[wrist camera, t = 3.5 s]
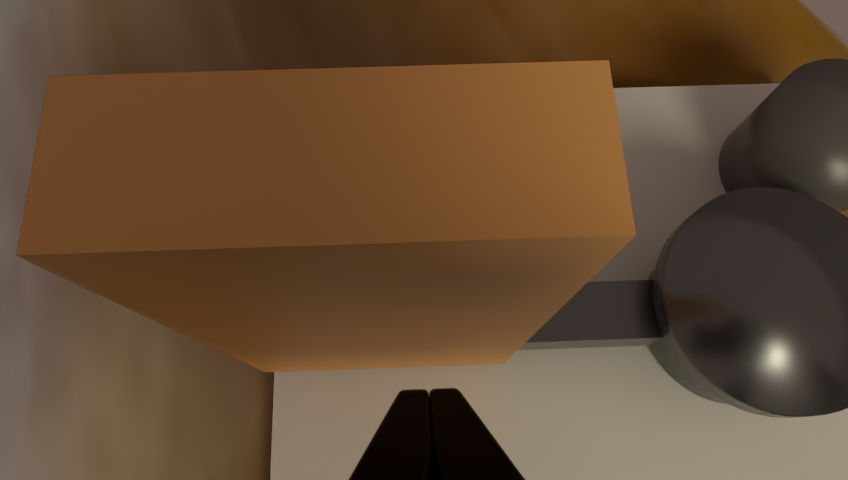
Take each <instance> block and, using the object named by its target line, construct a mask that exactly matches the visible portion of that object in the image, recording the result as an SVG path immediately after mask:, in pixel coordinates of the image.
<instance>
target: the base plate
mask: <svg viewBox="0 0 848 480" xmlns="http://www.w3.org/2000/svg"><path fill="white" fill-rule="evenodd" d="M613 90H614V96H615V103H616V109H617V115H618V122H619V128H620V135H621V141H622V148H623V154H624V161H625V167H626V173H627V180H628V186H629V193H630V199H631V206H632V212H633V219H634V225H635V231H636V235H635V236H634V237H633V238H632V239H631V240H630V241H629V242H628V243H627V244H626V245H625V246H624V247H623V248H622V249H621V250H620V251H619V252H618V253H617V254H616V255H615V256H614V257H613V258H612V259H611V260H610V261H609V262H608V263H607V264H606V265H605V266H604V267H603V268H602V269H600V270H599V271H598V272H597V273H596V274H595V275H594V276H593V277H592V278H591V279H590V280H589V281H588V282H598V281H628V280H648V278H649V276H650V274H651V272H652V271H653V269H654V268H655V267H656V263H657V260H658V258H659V255H660V252H661V250H662V248H663V246H664V244H665V242H666V241H667V239H668V238H669V237H670V235H671V234H672V233H673V231H674V230H675V229H676V228H677V227H678V226H679V225H680V224H681V223H682V222H683V221H685V220H686V219H687V218H688V217H689V216H690V215H692V214H693V213H694V212H695V211H696V210H698V209H699V208H700V207H702V206H703V205H704V204H706V203H707V202H709V201H711V200H713V199H714V198H716V197H718V196H721V195H723V194H726V193H729V192H732V191H736V190H740V189H745V188H756V187H768V188H779V189H786V190H790V191H794V192H798V193H802V194H804V195H807V196H810V197H812V198H815V199H817V200H819V201H821V202H823V203H825V204H827V205H829V206H831V207H832V208H834V209H835V210H837V211H839V212H840V213H842V214H843V212H844V211H845V210H847V209H848V60H843V59H823V60H817V61H813V62H810V63H807V64H805V65H803V66H801V67H799V68H797V69H796V70H794V71H793V72H792V73H791V74H790V75H789V76H787V77H786V78H785V79H784V80H783V81H782V82H781V83H772V84H737V85H703V86H668V87H633V88H613ZM438 388H456V389H458V390H459V391H460V392H461V393H462V394H463V396H464V397H465V398H466V400H467V401H468V403H469V404H470V405H471V407H472V408H473V409H474V411H475V412H476V413H477V415H478V416H479V418H480V419H481V420H482V422H483V423H484V424H485V426H486V427H487V428H488V430H489V431H490V432H491V434H492V435H493V437H494V438H495V439H496V441H497V442H498V443H499V445H500V446H501V447H502V449H503V450H504V452H505V453H506V454H507V456H508V457H509V458H510V460H511V461H512V462H513V464H514V465H515V466H516V468H517V469H518V471H519V472H520V473H521V475H522V476H523V477H524V479H525V480H848V408H847V409H844V410H842V411H838V412H835V413H831V414H827V415H818V416H808V417H794V418H776V417H768V416H762V415H757V414H753V413H750V412H747V411H743V410H741V409H738V408H736V407H734V406H732V405H729V404H723V403H717V402H714V401H710V400H707V399H705V398H702V397H700V396H698V395H695V394H694V393H692V392H690V391H689V390H687V389H685V388H684V387H683V386H681V385H680V384H679V383H677V382H676V381H675V380H674V379H673V378H672V377H671V376H670V375H669V374H667V372H666V371H665V370H664V369H663V368H662V366H661V365H660V364H659V363H658V361H657V359H656V358H655V356H654V355H653V353H652V351H651V349H650V347H649V345H647V346H619V347H592V348H564V349H536V350H517V351H516V352H515V353H514V354H513V355H512V356H511V357H510V358H509V359H508V360H507V361H506V362H505V363H504V364H484V365H456V366H429V367H402V368H375V369H347V370H320V371H293V372H274V395H273V420H272V445H271V470H270V480H349V478H350V476H351V474H352V473H353V471H354V469H355V467H356V466H357V464H358V462H359V460H360V459H361V457H362V455H363V453H364V452H365V450H366V448H367V446H368V445H369V443H370V441H371V440H372V438H373V436H374V434H375V433H376V431H377V429H378V427H379V426H380V424H381V422H382V420H383V419H384V417H385V415H386V413H387V412H388V410H389V408H390V406H391V405H392V403H393V401H394V400H395V398H396V396H397V394H398V393H399V392H400V391H401V390H411V389H425V390H427V391H428V393H430V391H431V390H432V389H438Z"/></svg>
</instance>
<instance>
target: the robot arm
mask: <svg viewBox="0 0 848 480" xmlns="http://www.w3.org/2000/svg"><path fill="white" fill-rule="evenodd" d="M349 480H525V479H524V477H523V476H522V475H521V473H520V472H519V471H518V469H517V468H516V466H515V465H514V464H513V462H512V461H511V460H510V458H509V457H508V456H507V454H506V453H505V452H504V450H503V449H502V447H501V446H500V445H499V443H498V442H497V441H496V439H495V438H494V437H493V435H492V434H491V432H490V431H489V430H488V428H487V427H486V426H485V424H484V423H483V422H482V420H481V419H480V418H479V416H478V415H477V413H476V412H475V411H474V409H473V408H472V407H471V405H470V404H469V403H468V401H467V400H466V398H465V397H464V396H463V394H462V393H461V392H460V391H459V390H458V389H456V388H438V389H432V390H431V391H430V393H428V391H427V390H425V389H411V390H401V391H400V392H399V393H398V394H397V396H396V398H395V400H394V401H393V403H392V405H391V406H390V408H389V410H388V412H387V413H386V415H385V417H384V419H383V420H382V422H381V424H380V426H379V427H378V429H377V431H376V433H375V434H374V436H373V438H372V440H371V441H370V443H369V445H368V446H367V448H366V450H365V452H364V453H363V455H362V457H361V459H360V460H359V462H358V464H357V466H356V467H355V469H354V471H353V473H352V474H351V476H350V478H349Z"/></svg>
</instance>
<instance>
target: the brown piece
mask: <svg viewBox="0 0 848 480" xmlns="http://www.w3.org/2000/svg"><path fill="white" fill-rule="evenodd" d="M635 235H636V231H635V225H634V219H633V212H632V206H631V199H630V193H629V186H628V180H627V173H626V167H625V161H624V154H623V148H622V141H621V135H620V128H619V122H618V115H617V109H616V103H615V96H614V90H613V83H612V77H611V70H610V64H609V60H599V61H564V62H528V63H492V64H457V65H421V66H385V67H350V68H314V69H278V70H243V71H207V72H171V73H135V74H100V75H64V76H49V78H48V84H47V89H46V95H45V100H44V106H43V111H42V117H41V122H40V128H39V133H38V139H37V144H36V150H35V155H34V161H33V166H32V171H31V177H30V182H29V188H28V193H27V199H26V204H25V210H24V215H23V221H22V226H21V232H20V237H19V243H18V248H17V254H16V256H19V257H21V258H23V259H25V260H27V261H29V262H31V263H34V264H36V265H38V266H40V267H42V268H44V269H46V270H48V271H51V272H53V273H55V274H57V275H59V276H61V277H63V278H65V279H68V280H70V281H72V282H74V283H76V284H78V285H80V286H82V287H85V288H87V289H89V290H91V291H93V292H95V293H97V294H99V295H102V296H104V297H106V298H108V299H110V300H112V301H114V302H116V303H119V304H121V305H123V306H125V307H127V308H129V309H131V310H133V311H136V312H138V313H140V314H142V315H144V316H146V317H148V318H150V319H153V320H155V321H157V322H159V323H161V324H163V325H165V326H168V327H170V328H172V329H174V330H176V331H178V332H180V333H182V334H185V335H187V336H189V337H191V338H193V339H195V340H197V341H199V342H202V343H204V344H206V345H208V346H210V347H212V348H214V349H216V350H219V351H221V352H223V353H225V354H227V355H229V356H231V357H233V358H236V359H238V360H240V361H242V362H244V363H246V364H248V365H250V366H253V367H255V368H257V369H259V370H261V371H263V372H293V371H320V370H347V369H375V368H402V367H429V366H456V365H484V364H504V363H505V362H506V361H507V360H508V359H509V358H510V357H511V356H512V355H513V354H514V353H515V352H516V351H517V350H536V349H564V348H592V347H619V346H647V345H649V347H650V349H651V351H652V353H653V355H654V356H655V358H656V359H657V361H658V363H659V364H660V365H661V366H662V368H663V369H664V370H665V371H666V372H667V374H669V375H670V376H671V377H672V378H673V379H674V380H675V381H676V382H677V383H679V384H680V385H681V386H683V387H684V388H685V389H687V390H689V391H690V392H692V393H694V394H695V395H698V396H700V397H702V398H705V399H707V400H710V401H714V402H717V403H723V404H729V405H732V406H734V407H736V408H738V409H741V410H743V411H747V412H750V413H753V414H757V415H762V416H768V417H776V418H794V417H808V416H818V415H827V414H831V413H835V412H838V411H842V410H844V409H847V408H848V218H847V217H846V216H845V215H843V214H842V213H840V212H839V211H837V210H835V209H834V208H832V207H831V206H829V205H827V204H825V203H823V202H821V201H819V200H817V199H815V198H812V197H810V196H807V195H804V194H802V193H798V192H794V191H790V190H786V189H779V188H768V187H756V188H745V189H740V190H736V191H732V192H729V193H726V194H723V195H721V196H718V197H716V198H714V199H713V200H711V201H709V202H707V203H706V204H704V205H703V206H702V207H700V208H699V209H698V210H696V211H695V212H694V213H693V214H692V215H690V216H689V217H688V218H687V219H686V220H685V221H683V222H682V223H681V224H680V225H679V226H678V227H677V228H676V229H675V230H674V231H673V233H672V234H671V235H670V237H669V238H668V239H667V241H666V242H665V244H664V246H663V248H662V250H661V252H660V255H659V258H658V260H657V263H656V267H655V268H654V269H653V271H652V272H651V274H650V276H649V278H648V280H628V281H598V282H588V281H589V280H590V279H591V278H592V277H593V276H594V275H595V274H596V273H597V272H598V271H599V270H600V269H602V268H603V267H604V266H605V265H606V264H607V263H608V262H609V261H610V260H611V259H612V258H613V257H614V256H615V255H616V254H617V253H618V252H619V251H620V250H621V249H622V248H623V247H624V246H625V245H626V244H627V243H628V242H629V241H630V240H631V239H632V238H633V237H634V236H635Z"/></svg>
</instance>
